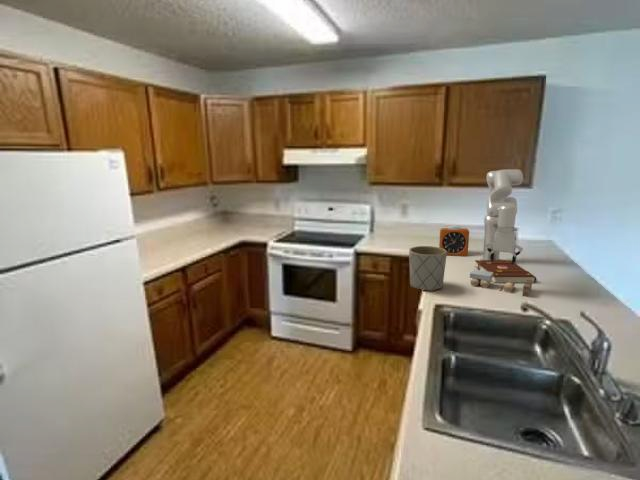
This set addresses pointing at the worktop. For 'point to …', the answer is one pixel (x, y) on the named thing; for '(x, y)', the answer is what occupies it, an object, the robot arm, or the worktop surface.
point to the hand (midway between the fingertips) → (502, 262)
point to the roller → (509, 286)
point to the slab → (481, 275)
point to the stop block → (527, 288)
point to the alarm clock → (454, 240)
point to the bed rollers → (485, 283)
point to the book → (505, 271)
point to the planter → (427, 267)
